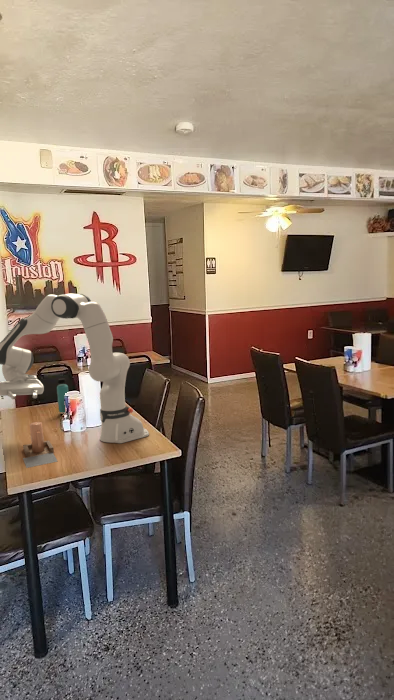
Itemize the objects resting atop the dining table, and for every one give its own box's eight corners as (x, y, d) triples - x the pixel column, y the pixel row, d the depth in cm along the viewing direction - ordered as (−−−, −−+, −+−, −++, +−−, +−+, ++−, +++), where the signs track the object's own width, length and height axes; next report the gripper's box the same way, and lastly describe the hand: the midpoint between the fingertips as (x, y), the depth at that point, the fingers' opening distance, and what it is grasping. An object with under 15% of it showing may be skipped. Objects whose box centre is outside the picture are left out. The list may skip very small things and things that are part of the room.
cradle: (49, 445, 208) (49, 440, 207) (53, 453, 198) (53, 447, 198) (23, 450, 203) (23, 445, 203) (26, 458, 193) (26, 452, 193)
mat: (52, 453, 197) (52, 452, 197) (57, 462, 187) (57, 461, 187) (23, 459, 192) (22, 458, 192) (26, 469, 181) (26, 467, 181)
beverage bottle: (67, 415, 257) (64, 380, 254) (56, 415, 258) (53, 380, 255) (73, 412, 263) (69, 377, 260) (62, 412, 265) (59, 377, 262)
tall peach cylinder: (43, 447, 204) (41, 421, 202) (46, 453, 197) (43, 425, 195) (31, 449, 202) (29, 423, 200) (34, 455, 194) (31, 428, 193)
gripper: (-6, 376, 212) (1, 392, 202) (39, 375, 224) (48, 390, 215) (-7, 388, 215) (-1, 404, 205) (37, 386, 227) (45, 402, 217)
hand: (24, 397), depth 210 cm, fingers open, 8 cm apart
